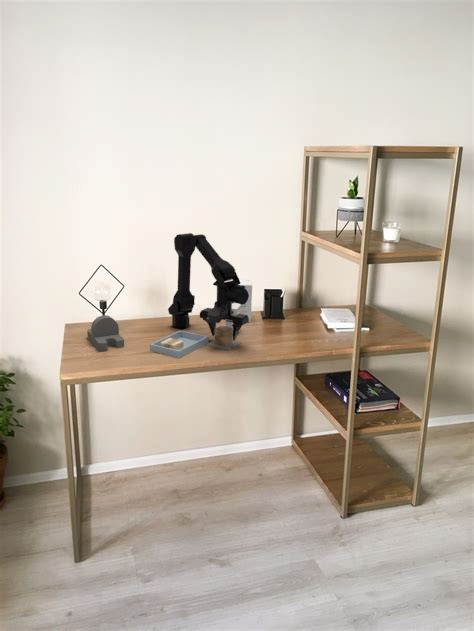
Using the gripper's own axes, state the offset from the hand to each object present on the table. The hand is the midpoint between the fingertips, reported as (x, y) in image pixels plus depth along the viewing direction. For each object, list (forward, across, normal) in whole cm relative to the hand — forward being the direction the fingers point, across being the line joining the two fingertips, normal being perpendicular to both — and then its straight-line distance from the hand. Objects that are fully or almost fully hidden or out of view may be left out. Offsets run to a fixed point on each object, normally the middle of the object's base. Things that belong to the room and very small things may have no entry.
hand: (223, 337), depth 214 cm
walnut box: (+2, 0, 0) cm, 2 cm away
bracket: (+3, -39, -23) cm, 45 cm away
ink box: (+3, -4, +14) cm, 15 cm away
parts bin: (+3, -12, -12) cm, 17 cm away
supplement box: (+3, -11, +32) cm, 34 cm away
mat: (+3, 0, 0) cm, 3 cm away
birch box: (+2, -12, -17) cm, 21 cm away
